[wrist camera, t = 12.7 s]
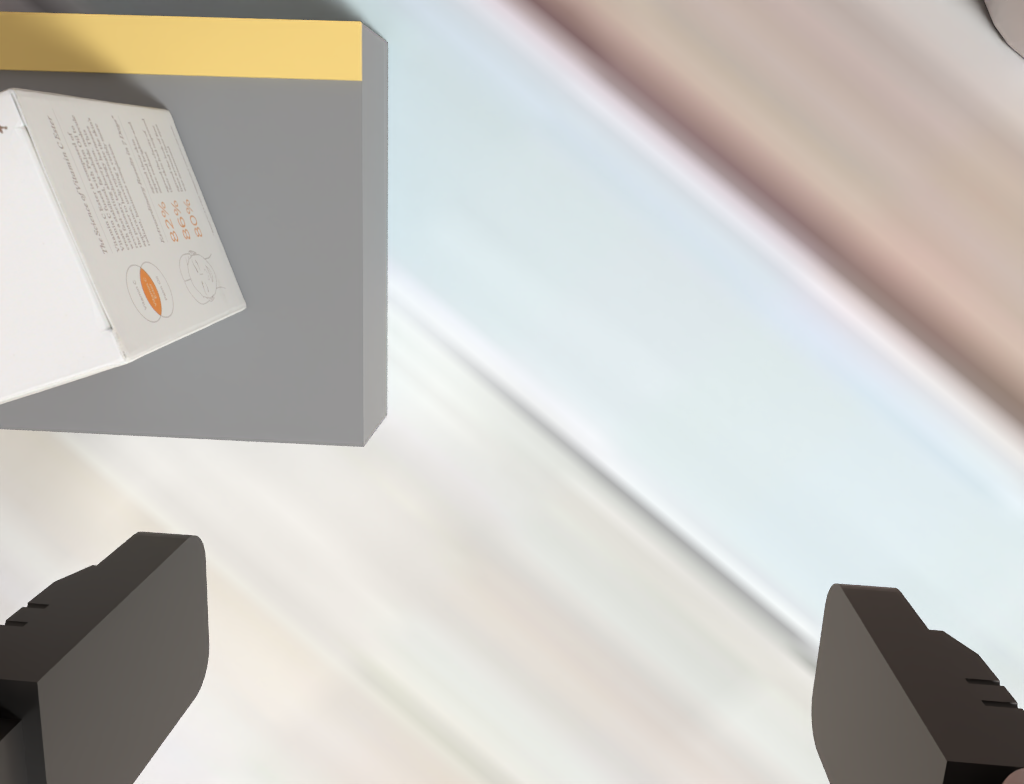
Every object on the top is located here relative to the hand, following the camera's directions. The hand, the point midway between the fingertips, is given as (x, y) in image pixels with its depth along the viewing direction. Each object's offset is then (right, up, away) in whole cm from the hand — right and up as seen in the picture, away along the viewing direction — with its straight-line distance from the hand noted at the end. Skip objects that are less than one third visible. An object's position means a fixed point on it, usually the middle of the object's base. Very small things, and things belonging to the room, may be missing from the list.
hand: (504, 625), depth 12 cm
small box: (-14, +9, +24) cm, 29 cm away
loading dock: (-14, +10, +28) cm, 33 cm away
